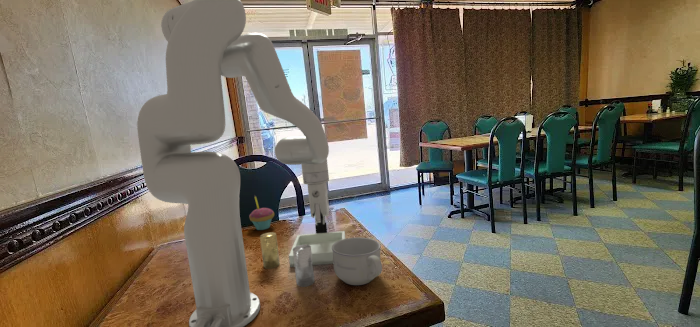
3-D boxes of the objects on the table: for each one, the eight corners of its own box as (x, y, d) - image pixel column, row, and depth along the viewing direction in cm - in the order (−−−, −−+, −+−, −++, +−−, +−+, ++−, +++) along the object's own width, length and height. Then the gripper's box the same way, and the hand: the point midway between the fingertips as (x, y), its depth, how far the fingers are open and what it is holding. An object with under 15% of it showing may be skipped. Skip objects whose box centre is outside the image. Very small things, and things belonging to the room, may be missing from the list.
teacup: (328, 273, 71) (325, 241, 70) (370, 262, 75) (368, 231, 74) (349, 305, 58) (346, 266, 57) (398, 290, 62) (396, 253, 61)
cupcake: (245, 231, 105) (241, 198, 103) (259, 223, 113) (256, 191, 111) (267, 232, 102) (263, 198, 101) (280, 223, 110) (276, 191, 109)
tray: (345, 262, 76) (344, 251, 75) (290, 267, 76) (288, 255, 75) (345, 240, 90) (344, 231, 89) (298, 244, 90) (297, 234, 89)
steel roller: (313, 285, 66) (309, 251, 65) (295, 287, 66) (291, 252, 65) (315, 276, 70) (311, 243, 69) (298, 278, 70) (294, 245, 69)
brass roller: (277, 267, 76) (274, 237, 75) (261, 269, 76) (258, 239, 75) (281, 260, 80) (277, 231, 79) (265, 261, 80) (262, 233, 79)
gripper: (327, 180, 81) (333, 245, 84) (329, 171, 96) (334, 226, 99) (299, 183, 81) (306, 247, 84) (306, 173, 96) (312, 228, 99)
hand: (322, 236), depth 91 cm, fingers closed
